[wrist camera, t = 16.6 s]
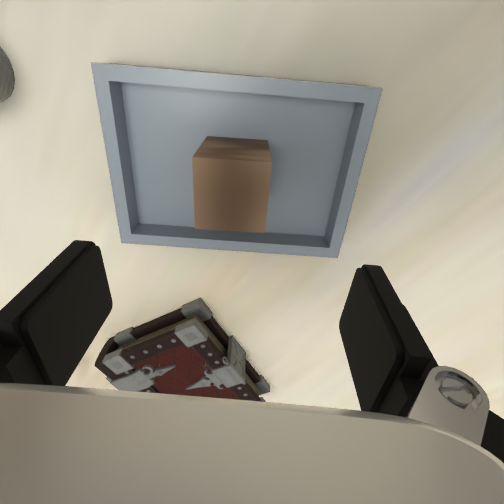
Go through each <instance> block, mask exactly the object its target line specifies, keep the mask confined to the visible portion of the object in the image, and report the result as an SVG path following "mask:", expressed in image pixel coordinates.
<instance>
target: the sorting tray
mask: <svg viewBox="0 0 504 504" xmlns="http://www.w3.org/2000/svg"><path fill="white" fill-rule="evenodd" d="M91 66H92V72H93V78H94V84H95V90H96V96H97V102H98V107H99V113H100V119H101V125H102V131H103V137H104V143H105V149H106V155H107V161H108V167H109V172H110V178H111V184H112V190H113V196H114V202H115V208H116V214H117V220H118V226H119V232H120V237H121V243H130V244H144V245H159V246H173V247H188V248H202V249H217V250H231V251H245V252H260V253H274V254H289V255H303V256H318V257H332V258H338V255H339V251H340V248H341V244H342V240H343V236H344V232H345V229H346V225H347V221H348V217H349V213H350V210H351V206H352V202H353V198H354V195H355V191H356V187H357V183H358V179H359V176H360V172H361V168H362V164H363V160H364V157H365V153H366V149H367V145H368V141H369V138H370V134H371V130H372V126H373V123H374V119H375V115H376V111H377V107H378V104H379V100H380V96H381V92H382V88H377V87H371V86H361V85H349V84H338V83H327V82H315V81H304V80H293V79H281V78H270V77H259V76H247V75H236V74H225V73H214V72H202V71H191V70H180V69H168V68H157V67H146V66H134V65H123V64H112V63H91ZM207 136H215V137H229V138H244V139H259V140H268V144H269V149H270V155H271V160H272V167H271V178H270V188H269V199H268V209H267V219H266V230H265V233H257V232H240V231H223V230H206V229H195V219H194V193H193V168H192V157H193V155H194V154H195V152H196V151H197V150H198V148H199V147H200V145H201V144H202V143H203V141H204V140H205V138H206V137H207Z"/></svg>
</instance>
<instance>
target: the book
mask: <svg viewBox="0 0 504 504" xmlns="http://www.w3.org/2000/svg"><path fill="white" fill-rule="evenodd" d="M211 315H212V312H211V310H210V309H209V308H208V307H207V305H206V304H205V303H204V302H203V300H202V299H201V298H199V299H197V300H194V301H192V302H190V303H187V304H185V305H183V306H182V308H181V309H179V310H177V311H174V312H172V313H170V314H167V315H165V316H162V317H160V318H158V319H155V320H153V321H151V322H148V323H146V324H144V325H141V326H139V327H137V328H133V327H131V328H129V329H126V330H124V331H122V332H119V333H117V334H116V336H115V337H113V338H111V339H109V340H108V341H107V342H106V344H105V345H104V347H103V348H102V350H101V352H100V354H99V356H98V358H97V360H96V362H95V367H97V368H98V369H99V370H100V371H101V372H103V373H104V374H105V375H106V376H107V378H106V379H107V380H108V381H109V382H110V383H111V384H112V385H113V386H115V387H116V388H117V389H118V390H122V391H135V392H148V393H161V394H174V395H186V396H199V397H211V398H223V399H235V400H247V401H259V402H266V401H265V400H264V399H263V398H262V397H261V398H259V396H258V395H261V394H264V393H267V392H270V387H269V384H268V383H267V381H266V380H265V379H264V378H263V376H262V375H260V376H259V375H258V374H257V373H256V371H255V370H254V369H253V368H252V366H251V365H250V364H249V363H248V361H247V360H246V352H245V351H244V350H243V348H242V347H241V346H240V345H239V343H238V342H237V341H236V340H235V338H234V337H233V336H230V337H228V336H227V335H226V334H225V333H224V331H223V330H222V329H221V328H220V326H219V325H218V324H217V323H216V321H215V320H214V319H213V318H212V316H211Z"/></svg>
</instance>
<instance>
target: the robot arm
mask: <svg viewBox="0 0 504 504" xmlns="http://www.w3.org/2000/svg"><path fill="white" fill-rule="evenodd" d="M111 309H112V298H111V294H110V289H109V285H108V281H107V276H106V272H105V268H104V263H103V259H102V255H101V250H100V248H99V246H96V245H95V243H94V242H92V241H80V240H75V241H73V242H72V243H71V244H70V245H69V246H68V247H67V248H66V249H65V250H64V251H63V252H62V253H61V254H59V255H58V256H57V257H56V258H55V259H54V260H53V261H52V262H51V263H50V264H49V265H48V266H47V267H46V268H45V269H44V270H43V271H42V272H40V273H39V274H38V275H37V276H36V277H35V278H34V279H33V280H32V281H31V282H30V283H29V284H28V285H27V286H26V287H25V288H24V289H23V290H21V291H20V292H19V293H18V294H17V295H16V296H15V297H14V298H13V299H12V300H11V301H10V302H9V303H8V304H7V305H6V306H5V307H4V308H2V309H1V310H0V504H504V419H502V418H501V417H499V416H498V415H496V414H495V413H493V412H492V411H490V410H489V399H488V397H487V394H486V393H485V391H484V390H483V389H482V387H481V386H480V385H479V384H478V383H477V382H476V381H475V380H474V379H473V378H471V377H470V376H468V375H467V374H465V373H464V372H462V371H460V370H457V369H455V368H451V367H447V366H438V364H437V362H436V360H435V359H434V357H433V355H432V353H431V351H430V350H429V348H428V346H427V344H426V343H425V341H424V339H423V337H422V336H421V334H420V332H419V330H418V328H417V327H416V325H415V323H414V321H413V320H412V318H411V316H410V314H409V312H408V311H407V309H406V307H405V306H404V305H403V304H402V303H401V301H400V299H399V298H398V296H397V294H396V292H395V290H394V289H393V287H392V285H391V283H390V281H389V280H388V278H387V276H386V274H385V272H384V271H383V269H382V267H381V266H376V265H363V266H362V267H361V268H357V270H356V272H355V275H354V278H353V281H352V285H351V288H350V291H349V294H348V297H347V300H346V303H345V306H344V309H343V312H342V315H341V319H340V323H339V329H340V334H341V337H342V341H343V345H344V348H345V352H346V356H347V359H348V363H349V367H350V370H351V374H352V378H353V381H354V385H355V389H356V392H357V396H358V400H359V403H360V407H361V411H357V410H347V409H337V408H328V407H317V406H306V405H294V404H282V403H271V402H259V401H247V400H235V399H223V398H211V397H199V396H186V395H174V394H161V393H148V392H135V391H122V390H109V389H95V388H82V387H69V386H65V385H66V383H67V382H68V380H69V378H70V377H71V375H72V374H73V372H74V370H75V369H76V367H77V365H78V364H79V362H80V360H81V359H82V357H83V356H84V354H85V352H86V351H87V349H88V347H89V346H90V344H91V343H92V341H93V339H94V338H95V336H96V334H97V333H98V331H99V330H100V328H101V326H102V325H103V323H104V321H105V320H106V318H107V317H108V315H109V313H110V312H111Z"/></svg>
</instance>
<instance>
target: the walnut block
mask: <svg viewBox="0 0 504 504" xmlns="http://www.w3.org/2000/svg"><path fill="white" fill-rule="evenodd" d="M271 167H272V160H271V155H270V149H269V144H268V140H259V139H244V138H229V137H215V136H207V137H206V138H205V140H204V141H203V143H202V144H201V145H200V147H199V148H198V150H197V151H196V152H195V154H194V155H193V157H192V168H193V193H194V219H195V229H206V230H223V231H240V232H257V233H265V230H266V219H267V209H268V199H269V188H270V178H271Z"/></svg>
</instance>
